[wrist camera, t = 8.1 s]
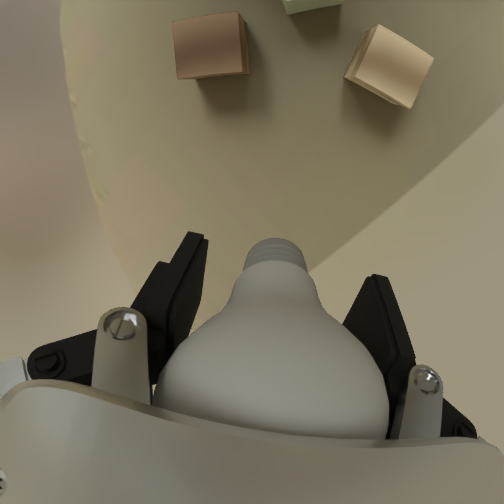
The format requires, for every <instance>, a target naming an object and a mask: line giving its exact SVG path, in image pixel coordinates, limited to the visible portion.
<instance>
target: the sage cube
mask: <svg viewBox="0 0 504 504" xmlns="http://www.w3.org/2000/svg"><path fill="white" fill-rule="evenodd" d="M281 1H282V3H283V6H284V8H285V10H286V13H287V15H290V14H294V13H298V12H303V11H307V10H312V9H317V8H322V7H328V6H333V5H339V4H342V2H343V1H344V0H281Z"/></svg>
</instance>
